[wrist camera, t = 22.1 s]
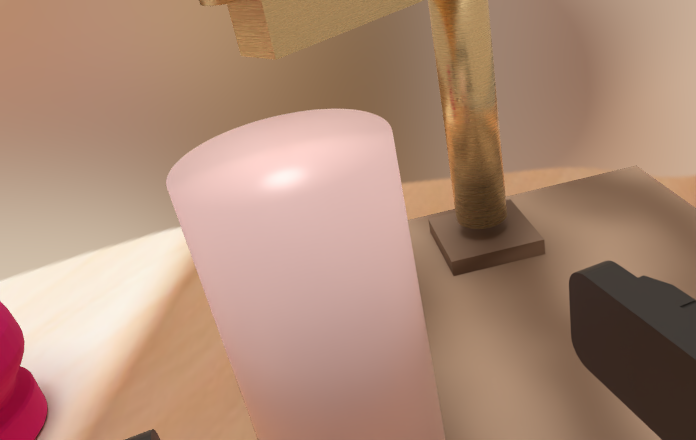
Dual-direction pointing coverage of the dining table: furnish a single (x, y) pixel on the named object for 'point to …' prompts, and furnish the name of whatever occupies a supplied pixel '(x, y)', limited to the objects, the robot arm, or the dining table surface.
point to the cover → (312, 275)
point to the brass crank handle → (452, 67)
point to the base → (540, 303)
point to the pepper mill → (17, 386)
